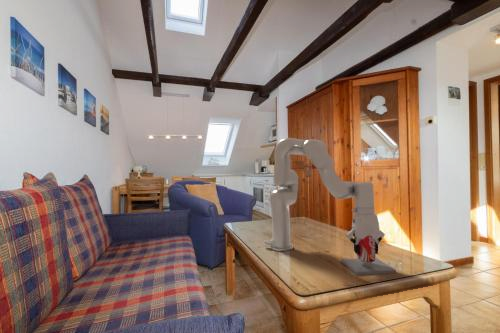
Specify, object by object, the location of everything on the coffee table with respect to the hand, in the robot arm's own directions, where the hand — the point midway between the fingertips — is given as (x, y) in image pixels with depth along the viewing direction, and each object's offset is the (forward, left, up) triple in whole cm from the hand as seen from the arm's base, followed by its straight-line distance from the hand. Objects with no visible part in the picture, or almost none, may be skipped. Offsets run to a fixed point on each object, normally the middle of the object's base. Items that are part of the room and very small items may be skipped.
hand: (366, 252), depth 103 cm
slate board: (0, 0, -6) cm, 6 cm away
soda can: (0, 0, -3) cm, 3 cm away
